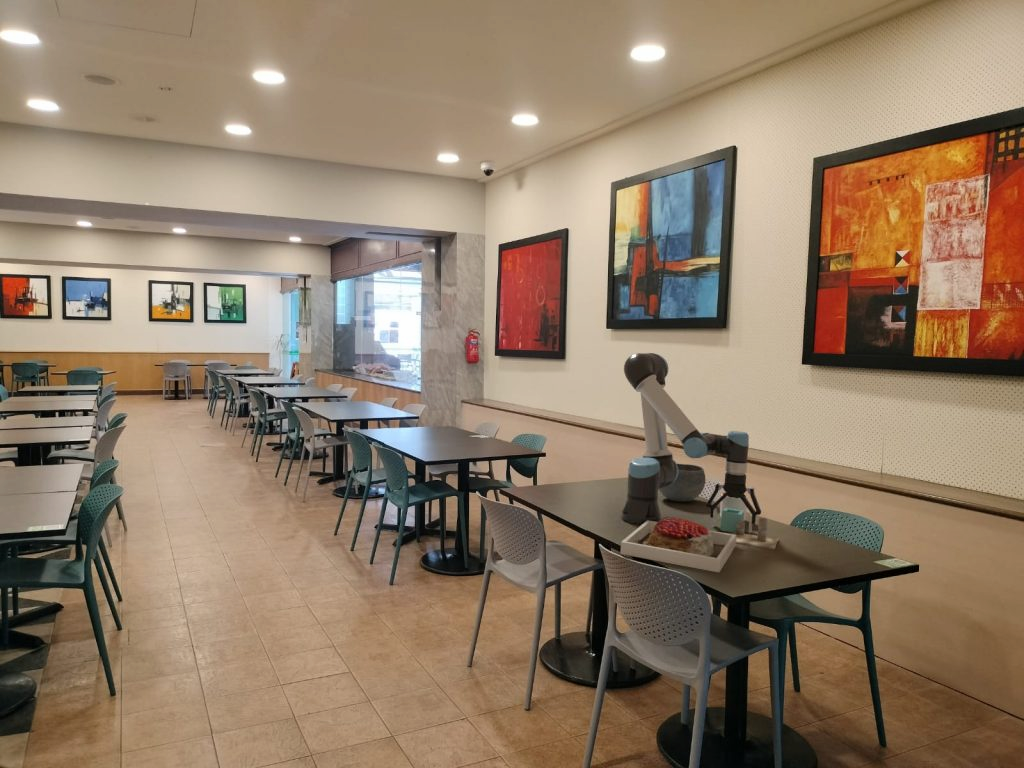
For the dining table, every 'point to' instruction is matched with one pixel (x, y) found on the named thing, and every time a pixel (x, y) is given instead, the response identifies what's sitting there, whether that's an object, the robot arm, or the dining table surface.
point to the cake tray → (678, 557)
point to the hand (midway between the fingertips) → (731, 529)
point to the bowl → (685, 483)
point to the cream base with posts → (753, 539)
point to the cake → (681, 537)
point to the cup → (733, 504)
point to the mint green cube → (731, 519)
